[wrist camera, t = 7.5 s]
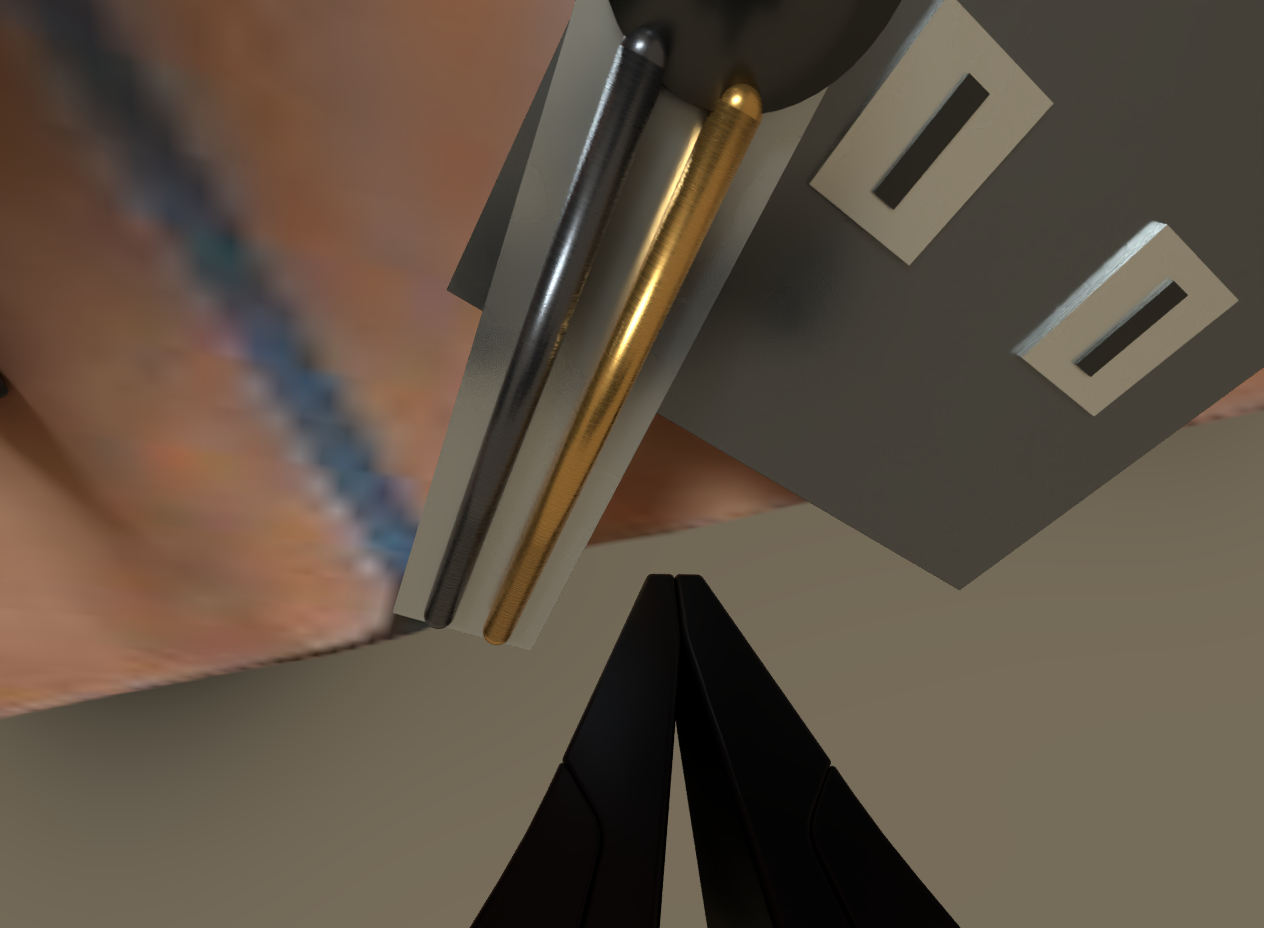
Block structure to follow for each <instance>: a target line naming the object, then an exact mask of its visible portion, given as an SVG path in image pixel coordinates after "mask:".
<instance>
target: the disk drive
mask: <svg viewBox="0 0 1264 928" xmlns="http://www.w3.org/2000/svg"><path fill="white" fill-rule="evenodd" d="M8 392H9V391H8V388H7V387H6V385H5V384H4V382H3V381H2V380H1V379H0V398H1V397H4V396H7V394H8Z"/></svg>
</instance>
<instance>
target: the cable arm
mask: <svg viewBox="0 0 1264 928" xmlns="http://www.w3.org/2000/svg"><path fill="white" fill-rule="evenodd" d="M900 2H901V0H576V2H575V5H574V8H573V12H572V15H571V18H570V22H569V25H568V28H567V32H566V35H565V39H564V42H563V45H562V49H561V52H560V55H559V59H558V62H557V65H556V69H555V72H554V75H553V79H552V82H551V85H550V89H549V92H548V95H547V99H546V102H545V105H544V109H543V112H542V115H541V119H540V122H539V125H538V129H537V132H536V135H535V139H534V142H533V145H532V149H531V152H530V155H529V159H528V162H527V166H526V169H525V172H524V176H523V179H522V182H521V186H520V189H519V192H518V196H517V199H516V202H515V206H514V209H513V212H512V216H511V219H510V222H509V226H508V229H507V232H506V236H505V239H504V242H503V246H502V249H501V252H500V256H499V259H498V262H497V266H496V269H495V272H494V276H493V279H492V282H491V286H490V289H489V293H488V296H487V299H486V303H485V306H484V309H483V313H482V316H481V319H480V323H479V326H478V329H477V333H476V336H475V339H474V343H473V346H472V349H471V353H470V356H469V359H468V363H467V366H466V369H465V373H464V376H463V379H462V383H461V386H460V389H459V393H458V396H457V399H456V403H455V406H454V409H453V413H452V416H451V420H450V423H449V426H448V430H447V433H446V436H445V440H444V443H443V446H442V450H441V453H440V456H439V460H438V463H437V466H436V470H435V473H434V476H433V480H432V483H431V486H430V490H429V493H428V496H427V500H426V503H425V506H424V510H423V513H422V516H421V520H420V523H419V526H418V530H417V533H416V536H415V540H414V543H413V547H412V550H411V553H410V557H409V560H408V563H407V567H406V570H405V573H404V577H403V580H402V583H401V587H400V590H399V593H398V597H397V600H396V603H395V607H394V610H393V613H396V614H399V615H403V616H407V617H410V618H414V619H417V620H421V621H425V622H426V623H427V624H428V625H429V626H430V627H432V628H435V629H441V628H445V627H446V628H450V629H453V630H457V631H460V632H464V633H468V634H471V635H475V636H478V637H482V638H485V640H486V641H487V642H488V643H490V644H493V645H501V644H507V645H511V646H514V647H518V648H522V649H525V650H529V651H531V649H532V647H533V646H534V644H535V642H536V640H537V638H538V636H539V634H540V632H541V630H542V628H543V627H544V625H545V623H546V621H547V619H548V617H549V615H550V613H551V611H552V610H553V608H554V606H555V603H556V601H557V600H558V598H559V596H560V594H561V592H562V591H563V589H564V586H565V585H566V583H567V581H568V579H569V577H570V575H571V573H572V572H573V570H574V568H575V566H576V564H577V562H578V560H579V558H580V556H581V555H582V553H583V551H584V549H585V547H586V545H587V543H588V541H589V539H590V537H591V536H592V534H593V532H594V530H595V528H596V526H597V524H598V522H599V520H600V518H601V517H602V515H603V513H604V511H605V509H606V507H607V505H608V503H609V501H610V500H611V498H612V496H613V494H614V492H615V490H616V488H617V486H618V484H619V482H620V481H621V479H622V477H623V475H624V473H625V471H626V469H627V467H628V465H629V463H630V462H631V460H632V458H633V456H634V454H635V452H636V450H637V448H638V446H639V445H640V443H641V441H642V439H643V437H644V435H645V433H646V431H647V429H648V427H649V426H650V424H651V422H652V420H653V418H654V416H655V414H656V412H657V410H658V408H659V407H660V405H661V403H662V401H663V399H664V397H665V395H666V393H667V391H668V390H669V388H670V386H671V384H672V382H673V380H674V378H675V376H676V374H677V372H678V371H679V369H680V367H681V365H682V363H683V361H684V359H685V357H686V355H687V353H688V352H689V350H690V348H691V346H692V344H693V342H694V340H695V338H696V336H697V335H698V333H699V331H700V329H701V327H702V325H703V323H704V321H705V319H706V317H707V316H708V314H709V312H710V310H711V308H712V306H713V304H714V302H715V300H716V298H717V297H718V295H719V293H720V291H721V289H722V287H723V285H724V283H725V281H726V280H727V278H728V276H729V274H730V272H731V270H732V268H733V266H734V264H735V262H736V261H737V259H738V257H739V255H740V253H741V251H742V249H743V247H744V245H745V243H746V242H747V240H748V238H749V236H750V234H751V232H752V230H753V228H754V226H755V225H756V223H757V221H758V219H759V217H760V215H761V213H762V211H763V209H764V207H765V206H766V204H767V202H768V200H769V198H770V196H771V194H772V192H773V190H774V188H775V187H776V185H777V183H778V181H779V179H780V177H781V175H782V173H783V171H784V170H785V168H786V166H787V164H788V162H789V160H790V158H791V156H792V154H793V152H794V151H795V149H796V147H797V145H798V143H799V141H800V139H801V137H802V135H803V133H804V132H805V130H806V128H807V126H808V124H809V122H810V120H811V118H812V116H813V115H814V113H815V111H816V109H817V107H818V105H819V103H820V101H821V99H822V97H823V96H824V94H825V92H826V90H827V88H828V86H829V85H831V84H832V83H834V82H835V81H836V80H838V79H839V78H840V77H841V76H842V75H843V74H844V73H846V72H847V71H848V70H849V69H850V68H851V67H853V66H854V65H855V63H856V62H857V61H858V60H859V59H860V58H861V57H862V56H863V55H864V54H865V53H866V52H867V50H868V49H869V48H870V47H871V46H872V44H873V43H874V42H875V40H876V39H877V38H878V36H879V35H880V34H881V32H882V31H883V30H884V28H885V27H886V26H887V24H888V22H889V21H890V19H891V17H892V16H893V14H894V12H895V11H896V9H897V8H898V6H899V4H900Z"/></svg>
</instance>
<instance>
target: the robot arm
mask: <svg viewBox="0 0 1264 928" xmlns="http://www.w3.org/2000/svg"><path fill="white" fill-rule="evenodd" d="M675 721H676V725H677V733H678V740H679V747H680V753H681V759H682V766H683V773H684V779H685V785H686V791H687V799H688V805H689V811H690V818H691V825H692V830H693V838H694V844H695V851H696V857H697V864H698V870H699V876H700V883H701V889H702V896H703V902H704V909H705V915H706V922H707V928H960V927H959V925H958V924H957V923H956V922H955V921H954V919H953V918H952V917H951V916H950V915H949V914H948V912H947V911H946V910H945V909H944V908H943V906H942V905H941V904H940V903H939V902H938V900H937V899H936V898H935V897H934V896H933V894H932V893H931V892H930V891H929V890H928V889H927V887H926V886H925V885H924V884H923V883H922V881H921V880H920V879H919V878H918V876H917V875H916V874H915V873H914V872H913V870H912V869H911V868H910V866H909V865H908V864H907V863H906V861H905V860H904V859H903V858H902V857H901V855H900V854H899V853H898V852H897V850H896V849H895V848H894V847H893V846H892V844H891V843H890V842H889V841H888V839H887V838H886V837H885V836H884V834H883V833H882V831H881V830H880V829H879V827H878V826H877V825H876V823H875V822H874V821H873V819H872V818H871V817H870V815H869V814H868V813H867V811H866V810H865V808H864V807H863V806H862V804H861V803H860V802H859V800H858V799H857V797H856V796H855V795H854V794H853V792H852V790H851V789H850V788H849V786H848V785H847V783H846V782H845V780H844V779H843V778H842V776H841V775H840V773H839V772H838V770H837V769H836V767H834V766H830V764H831V761H830V759H829V758H828V756H827V755H826V753H825V752H824V751H823V749H822V748H821V746H820V745H819V743H818V742H817V740H816V739H815V738H814V736H813V735H812V733H811V732H810V731H809V729H808V728H807V726H806V725H805V723H804V722H803V720H802V719H801V718H800V716H799V715H798V713H797V712H796V710H795V709H794V708H793V706H792V705H791V703H790V702H789V700H788V699H787V697H786V696H785V695H784V693H783V692H782V690H781V689H780V687H779V686H778V685H777V683H776V682H775V680H774V679H773V677H772V676H771V675H770V673H769V672H768V670H767V669H766V667H765V666H764V664H763V663H762V662H761V660H760V659H759V657H758V656H757V655H756V653H755V652H754V650H753V649H752V647H751V646H750V644H749V643H748V642H747V640H746V639H745V637H744V636H743V634H742V633H741V632H740V630H739V629H738V627H737V626H736V624H735V623H734V621H733V620H732V619H731V617H730V616H729V614H728V613H727V611H726V610H725V609H724V607H723V606H722V604H721V603H720V601H719V600H718V599H717V597H716V596H715V594H714V593H713V592H712V590H711V589H710V587H709V586H708V584H707V583H706V581H705V580H704V579H703V577H701V576H700V575H692V574H691V575H689V574H678V575H677V576H676V577H675V578H674V577H673V575H671V574H650V575H648V576H647V578H646V580H645V582H644V584H643V586H642V588H641V590H640V592H639V595H638V597H637V599H636V601H635V603H634V606H633V608H632V610H631V612H630V614H629V616H628V618H627V620H626V623H625V625H624V627H623V629H622V632H621V634H620V636H619V638H618V640H617V642H616V644H615V646H614V649H613V651H612V653H611V655H610V657H609V660H608V661H607V664H606V666H605V668H604V670H603V672H602V674H601V677H600V679H599V681H598V683H597V685H596V687H595V689H594V692H593V694H592V696H591V698H590V700H589V702H588V705H587V707H586V709H585V711H584V713H583V715H582V718H581V720H580V722H579V724H578V726H577V728H576V730H575V733H574V735H573V737H572V739H571V741H570V743H569V745H568V748H567V750H566V752H565V754H564V757H563V763H561V764H559V766H558V768H557V771H556V773H555V775H554V777H553V779H552V782H551V783H550V786H549V788H548V790H547V792H546V794H545V796H544V798H543V800H542V802H541V804H540V806H539V808H538V810H537V812H536V814H535V816H534V818H533V820H532V822H531V824H530V826H529V828H528V830H527V832H526V834H525V835H524V837H523V839H522V841H521V842H520V844H519V846H518V848H517V849H516V851H515V853H514V855H513V856H512V858H511V860H510V862H509V863H508V865H507V867H506V869H505V870H504V872H503V874H502V876H501V877H500V879H499V881H498V882H497V884H496V886H495V887H494V889H493V890H492V892H491V894H490V895H489V897H488V899H487V900H486V902H485V903H484V905H483V907H482V908H481V910H480V912H479V913H478V915H477V917H476V918H475V920H474V921H473V923H472V925H471V926H470V928H660V916H661V903H662V890H663V876H664V865H665V864H664V863H665V851H666V837H667V825H668V812H669V798H670V786H671V773H672V760H673V746H674V734H675ZM829 767H830V768H829Z"/></svg>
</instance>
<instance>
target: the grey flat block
mask: <svg viewBox="0 0 1264 928" xmlns="http://www.w3.org/2000/svg"><path fill="white" fill-rule="evenodd" d="M569 22H570V20H569ZM568 25H569V23H568ZM568 25H567V27H566V29H565V31H564V33H563V36H562V38H561V40H560V42H559V44H558V47H557V49H556V51H555V53H554V55H553V58H552V60H551V62H550V64H549V66H548V69H547V71H546V73H545V75H544V77H543V80H542V82H541V84H540V86H539V88H538V91H537V93H536V95H535V97H534V99H533V102H532V104H531V106H530V108H529V110H528V113H527V115H526V117H525V119H524V121H523V124H522V126H521V128H520V130H519V132H518V134H517V137H516V139H515V141H514V143H513V145H512V148H511V150H510V152H509V154H508V156H507V159H506V161H505V163H504V165H503V167H502V170H501V172H500V174H499V176H498V178H497V181H496V183H495V185H494V187H493V189H492V192H491V194H490V196H489V198H488V200H487V203H486V205H485V207H484V209H483V211H482V214H481V216H480V218H479V220H478V222H477V225H476V227H475V229H474V231H473V233H472V235H471V238H470V240H469V242H468V244H467V246H466V249H465V251H464V253H463V255H462V257H461V260H460V262H459V264H458V266H457V268H456V271H455V273H454V275H453V277H452V279H451V282H450V284H449V286H448V288H447V290H448V291H449V292H451V293H453V294H454V295H456V296H458V297H460V298H461V299H463V300H465V301H466V302H468V303H470V304H471V305H473V306H475V307H477V308H478V309H480V310H482V311H483V309H484V306H485V303H486V299H487V296H488V293H489V289H490V286H491V282H492V279H493V276H494V272H495V269H496V266H497V262H498V259H499V256H500V252H501V249H502V246H503V242H504V239H505V236H506V232H507V229H508V226H509V222H510V219H511V216H512V212H513V209H514V206H515V202H516V199H517V196H518V192H519V189H520V186H521V182H522V179H523V176H524V172H525V169H526V166H527V162H528V159H529V155H530V152H531V149H532V145H533V142H534V139H535V135H536V132H537V129H538V125H539V122H540V119H541V115H542V112H543V109H544V105H545V102H546V99H547V95H548V92H549V89H550V85H551V82H552V79H553V75H554V72H555V69H556V65H557V62H558V59H559V55H560V52H561V49H562V45H563V42H564V39H565V35H566V32H567V28H568ZM1263 367H1264V0H901V2H900V4H899V6H898V8H897V9H896V11H895V12H894V14H893V16H892V17H891V19H890V21H889V22H888V24H887V26H886V27H885V28H884V30H883V31H882V32H881V34H880V35H879V36H878V38H877V39H876V40H875V42H874V43H873V44H872V46H871V47H870V48H869V49H868V50H867V52H866V53H865V54H864V55H863V56H862V57H861V58H860V59H859V60H858V61H857V62H856V63H855V65H854V66H853V67H851V68H850V69H849V70H848V71H847V72H846V73H844V74H843V75H842V76H841V77H840V78H839V79H838V80H836V81H835V82H834V83H832V84H831V85H829V86H828V88H827V90H826V92H825V94H824V96H823V97H822V99H821V101H820V103H819V105H818V107H817V109H816V111H815V113H814V115H813V116H812V118H811V120H810V122H809V124H808V126H807V128H806V130H805V132H804V133H803V135H802V137H801V139H800V141H799V143H798V145H797V147H796V149H795V151H794V152H793V154H792V156H791V158H790V160H789V162H788V164H787V166H786V168H785V170H784V171H783V173H782V175H781V177H780V179H779V181H778V183H777V185H776V187H775V188H774V190H773V192H772V194H771V196H770V198H769V200H768V202H767V204H766V206H765V207H764V209H763V211H762V213H761V215H760V217H759V219H758V221H757V223H756V225H755V226H754V228H753V230H752V232H751V234H750V236H749V238H748V240H747V242H746V243H745V245H744V247H743V249H742V251H741V253H740V255H739V257H738V259H737V261H736V262H735V264H734V266H733V268H732V270H731V272H730V274H729V276H728V278H727V280H726V281H725V283H724V285H723V287H722V289H721V291H720V293H719V295H718V297H717V298H716V300H715V302H714V304H713V306H712V308H711V310H710V312H709V314H708V316H707V317H706V319H705V321H704V323H703V325H702V327H701V329H700V331H699V333H698V335H697V336H696V338H695V340H694V342H693V344H692V346H691V348H690V350H689V352H688V353H687V355H686V357H685V359H684V361H683V363H682V365H681V367H680V369H679V371H678V372H677V374H676V376H675V378H674V380H673V382H672V384H671V386H670V388H669V390H668V391H667V393H666V395H665V397H664V399H663V401H662V403H661V405H660V407H659V408H658V410H657V412H656V413H658V414H659V415H661V416H663V417H665V418H666V419H668V420H670V421H671V422H673V423H675V424H676V425H678V426H680V427H682V428H683V429H685V430H687V431H688V432H690V433H692V434H694V435H695V436H697V437H699V438H700V439H702V440H704V441H706V442H707V443H709V444H711V445H712V446H714V447H716V448H717V449H719V450H721V451H723V452H724V453H726V454H728V455H729V456H731V457H733V458H735V459H736V460H738V461H740V462H741V463H743V464H745V465H747V466H748V467H750V468H752V469H753V470H755V471H757V472H758V473H760V474H762V475H764V476H765V477H767V478H769V479H770V480H772V481H774V482H776V483H777V484H779V485H781V486H782V487H784V488H786V489H788V490H789V491H791V492H793V493H794V494H796V495H798V496H799V497H801V498H803V499H805V500H806V501H808V502H810V503H811V504H813V505H815V506H817V507H818V508H820V509H822V510H823V511H825V512H827V513H829V514H830V515H832V516H834V517H835V518H837V519H839V520H840V521H842V522H844V523H846V524H847V525H849V526H851V527H852V528H854V529H856V530H858V531H859V532H861V533H863V534H864V535H866V536H868V537H870V538H871V539H873V540H875V541H876V542H878V543H880V544H882V545H883V546H885V547H887V548H889V549H890V550H892V551H894V552H895V553H897V554H899V555H900V556H902V557H904V558H906V559H907V560H909V561H911V562H912V563H914V564H916V565H918V566H919V567H921V568H923V569H924V570H926V571H928V572H929V573H931V574H933V575H934V576H936V577H938V578H940V579H941V580H943V581H945V582H946V583H948V584H950V585H952V586H953V587H955V588H957V589H958V590H961V589H962V588H963V587H965V586H966V585H967V584H969V583H970V582H971V581H973V580H974V579H976V578H977V577H978V576H980V575H981V574H982V573H984V572H985V571H986V570H988V569H989V568H990V567H992V566H993V565H995V564H996V563H997V562H999V561H1000V560H1001V559H1003V558H1004V557H1005V556H1007V555H1008V554H1010V553H1011V552H1012V551H1014V550H1015V549H1016V548H1018V547H1019V546H1020V545H1022V544H1023V543H1025V542H1026V541H1027V540H1029V539H1030V538H1031V537H1033V536H1034V535H1035V534H1037V533H1038V532H1040V531H1041V530H1042V529H1044V528H1045V527H1046V526H1048V525H1049V524H1051V523H1052V522H1053V521H1055V520H1056V519H1057V518H1059V517H1060V516H1061V515H1063V514H1064V513H1066V512H1067V511H1068V510H1069V509H1071V508H1072V507H1073V506H1075V505H1076V504H1078V503H1079V502H1080V501H1082V500H1083V499H1085V498H1086V497H1087V496H1088V495H1090V494H1091V493H1093V492H1094V491H1095V490H1097V489H1098V488H1100V487H1101V486H1102V485H1104V484H1105V483H1106V482H1108V481H1109V480H1110V479H1112V478H1113V477H1115V476H1116V475H1117V474H1119V473H1120V472H1121V471H1123V470H1124V469H1126V468H1127V467H1128V466H1130V465H1131V464H1132V463H1134V462H1135V461H1136V460H1138V459H1139V458H1141V457H1142V456H1143V455H1144V454H1146V453H1147V452H1149V451H1150V450H1151V449H1153V448H1154V447H1156V445H1158V444H1159V443H1161V442H1162V441H1164V440H1165V439H1166V438H1168V437H1169V436H1170V435H1172V434H1173V433H1175V432H1176V431H1177V430H1179V429H1180V428H1181V427H1183V426H1184V425H1186V424H1187V423H1188V422H1190V421H1191V420H1192V419H1194V418H1195V417H1196V416H1198V415H1199V414H1201V413H1202V412H1203V411H1205V410H1206V409H1207V408H1209V407H1210V406H1211V405H1213V404H1214V403H1216V402H1217V401H1218V400H1220V399H1221V398H1222V397H1224V396H1225V395H1226V394H1228V393H1229V392H1231V391H1232V390H1233V389H1235V388H1236V387H1237V386H1239V385H1240V384H1241V383H1243V382H1244V381H1246V380H1247V379H1248V378H1250V377H1251V376H1252V375H1254V374H1255V373H1256V372H1258V371H1259V370H1261V369H1262V368H1263Z"/></svg>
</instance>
